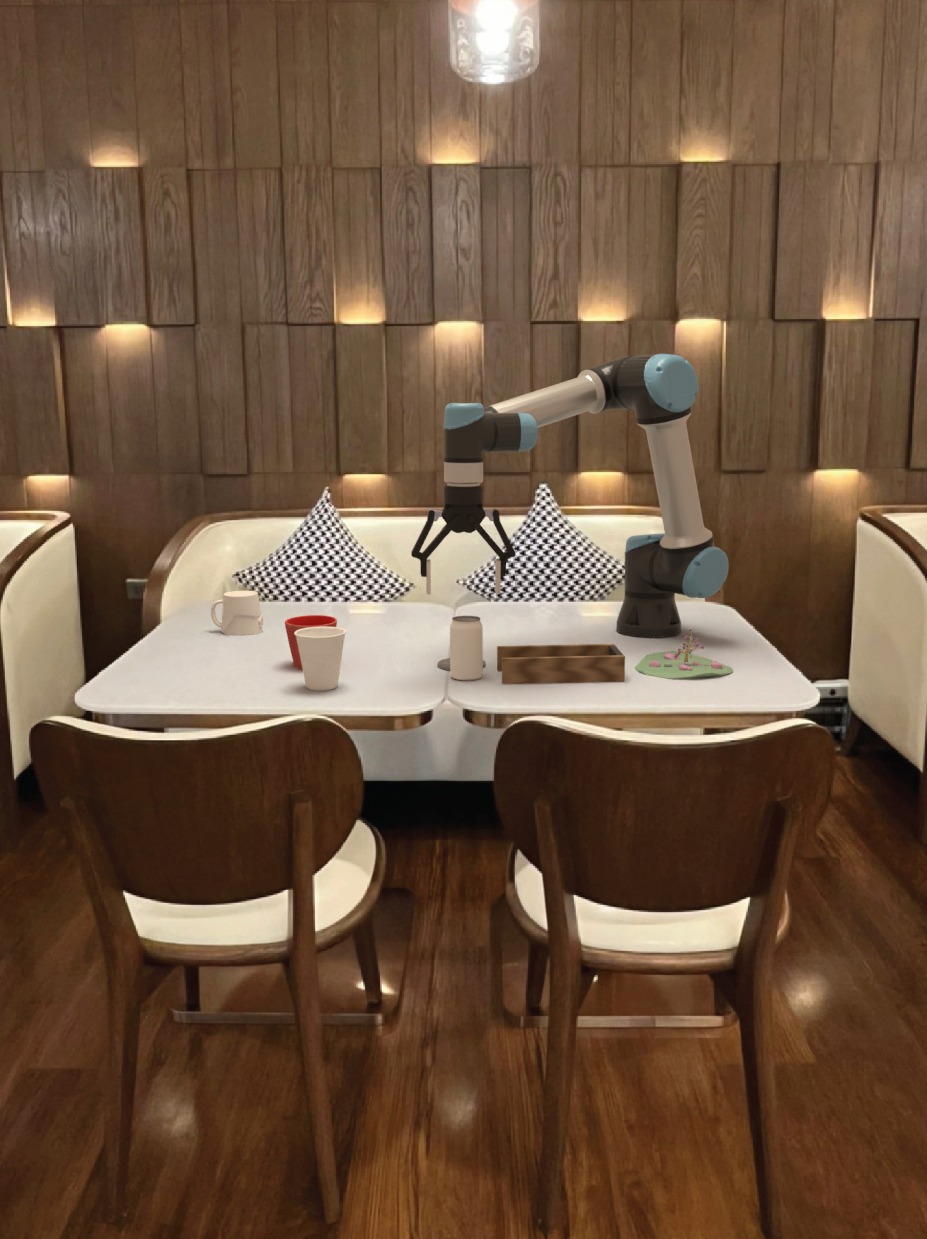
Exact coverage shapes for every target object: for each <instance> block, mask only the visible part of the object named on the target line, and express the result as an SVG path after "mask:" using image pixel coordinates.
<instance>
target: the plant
mask: <svg viewBox="0 0 927 1239" xmlns="http://www.w3.org/2000/svg"><path fill="white" fill-rule="evenodd" d="M688 631H689V632H690V636H689V635H688V634H685V635H684V638H682V641H683V642H681V641H679V644H682V648H680V647H679V648H678V649H677V650H668V651H661V652H654V653H648V654H647V655H645V656H644V658H642V660H640V662H639V663H637V665H635V667H634V669H635V671H637V673H640V674H642V675H645V676H649V677H655V678H660V679H666V680H667V679H668V680H677V679H678V680H679V679H680V680H681V679H692V678H706V677H717V676H720V677H721V676H727V675H731V674H733V673H734V669H733V668H732V667H731V666H729V665H726V664H723V663H721V662H717V661H715V660H712V659H710V658H706V657H703V656H699V655H697V654H696V655H695V654H693V653H692V652H695V650H696V649H698V650H699V649H702V650H703V649H705V646H704V645H700V642H699V641H698V639H699V637H693V635H692V633H693V632H692V631H693V629H692V628H690V629H689V630H688ZM688 638H690V640H689V643H688V642H687V641H688ZM685 639H686V641H685ZM691 644H695V645H691ZM684 650H685V651H684Z"/></svg>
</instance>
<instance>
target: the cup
mask: <svg viewBox="0 0 927 1239" xmlns="http://www.w3.org/2000/svg"><path fill="white" fill-rule="evenodd" d="M346 634H347V630H346V629H345V628H341V627H337V626H336V627H309V628H303V629H299V630H297V631H295V632H294V635H295V636H296V639H297V644H298V649H299V653H300V658H301V663H302V669H301V670H302V673H303V678H304V683H305V687H306V688H307V689H308V690H310V691H318V692H319V691H320V692H321V691H322V692H325V691H331V690H333V689H336V688H337V686H338V685H339V680H340V673H341V672H340V671H341V664H342V656H343V650H344V644H345V643H344V642H345V636H346Z"/></svg>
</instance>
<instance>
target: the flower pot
mask: <svg viewBox="0 0 927 1239" xmlns="http://www.w3.org/2000/svg"><path fill="white" fill-rule="evenodd" d="M337 624H338V620H337V618H336V617H334V616H331V615H323V614H319V615H318V614H315V615H314V614H313V615H312V614H311V615H300V616H299V615H298V616H294V617H290V618H287V619H285V621H284V627H285V632H286V636H287V641H288V645H289V646H288V647H289V649H290V654H291V658H292V661H293V663H292V664H293V666H294V667H295V668H296V669H300V670H303V669H302V663H301V658H300V653H299V649H298V644H297V639H296V636H295V635H294V632H295V631H297V630H299V629H303V628H309V627H337Z"/></svg>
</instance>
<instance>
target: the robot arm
mask: <svg viewBox="0 0 927 1239" xmlns="http://www.w3.org/2000/svg"><path fill="white" fill-rule="evenodd" d="M698 392H699V378H698V375H697V373H696V371H695V368H694V367H693V365H692V364H691V363H690V362H689V361H688V360H687V359H685V358H684V357H682V356H680V355H677V354H669V353H653V354H652V353H651V354H640V355H637V354H636V355H635V354H632V355H631V354H630V355H625V356H621V357H618V358H615V359H612V360H610V361H606V362H604V363H601V364H599V365H596V366H594V367H591V368H587V369H585V370H582V371H581V372H580V373H579V374H578V375H577V377H575V378H572V379H569V380H565V381H562V382H559V383H556V384H553V385H550V386H546V387H544V388H540V389H538V390H535V391H534V390H533V391H531V392H528V393H524V394H522V395H518V396H515V397H511V398H508V399H507V400H503V401H500V402H497V403H494V404H493V403H492V404H490V405H488V406H484V405H483V404H482V403H481V402H480V403H479V402H477V403H476V402H467V403H466V402H450V403H448V404H447V405H446V406H445V407H444V408H445V409H444V415H443V426H442V427H443V457H444V460H443V482H444V483H446V485H444V487H443V508H442V510H435V509H433V508H429V509H428V511H427V518H426V521H425V523H424V525H423V527H422V529H421V532H420V533H419V536H418V538H417V540H416V542H415V544H414V546H413V548H412V550H411V552H410V554H411V557H412V558H415V559H418V561H420V563H419V564H420V565H419V566H420V576H421V577H422V578H425V579H426V580H425V582H426V585H425V586H426V591H425V592H426V595H431V594H432V588H431V587H432V586H431V582H432V581H431V577H432V576H431V575H432V573H431V569H432V568H431V563H432V562H431V559H430V558H429V557H430V556H431V555H432V554H433V553H434V551H435V550H436V549H437V548H438V547H439V546H440V545H441V543H442V542H443V540H444V539H445V538H446V537H447V536H448V535H449V534H450V533H451V532H453V533H455V534H461V533H467V534H472V533H474V532H475V531H477V533H478V534H479V535H480V537H481V538H482V539H483V540H484V541H485V543H487V544H488V546H489V547H490V548H491V549H492V551H493V552H494V553H495V554H496V556H498V557H499V558H495V562H494V563H495V569H494V570H495V573H494V574H495V575H494V576H495V579H494V587H495V588H494V592H495V594H496V595H500V594H501V577H506V575H507V560H509V559H510V558H514V557H515V556H516V551H515V549H514V547H513V545H512V543H511V541H510V538H509V537H508V534H507V532H506V531H505V529H504V526H503V525H502V522H501V519H500V511H499V510H498V509H497V508H493V509H489V510H484V487H483V486H482V485H481V483H483V482H484V453H486V454H487V453H520V452H529V451H530V450H532V449H534V447H535V446H536V444H537V441H538V438H539V434H538V432H539V428H542V427H544V426H548V425H550V424H553V423H557V422H560V421H563V420H565V419H569V418H572V417H575V416H578V415H581V414H583V413H590V414H593V415H594V414H599V413H601V412H606V411H615V410H616V411H618V410H619V411H620V410H627V411H634V414H635V419H636V420H635V421H636V424H637V426H639V427H640V428H642V429H643V430H645V433H646V437H647V443H648V444H647V445H648V450H649V455H650V461H651V466H652V471H653V476H654V481H655V488H656V494H657V498H658V503H659V509H660V514H661V520H662V524H663V529H664V532H663V533H662V532H661V533H653V534H652V533H650V534H649V533H648V534H638V535H637V534H636V535H630V536H629V537H628V538H627V539H626V542H625V551H624V599H623V602H622V604H621V607H620V610H619V612H618V616H617V619H616V625H615V626H616V629H615V630H616V632H618V633H619V634H621V635H625V636H631V637H639V638H665V637H666V638H668V637H673V636H677V635H680V634H681V633H682V620H681V617H680V614H679V610H678V606H677V603H676V601H675V600H676V599H675V598H676V595H675V594H677V595H682V596H686V597H688V598H690V599H691V598H693V599H695V598H698V599H706V598H710V597H712V596H714V595H716V593H718V591H720V590H721V588H723V585H724V582H726V579H727V577H728V573H729V569H730V568H729V564H730V563H729V559H728V555H727V554H726V552H725V551H723V550H722V549H721V548H720V547H717V546H716V545H715V541H714V536H713V531H711V530H710V529H708V528H706V527H705V523H704V519H703V513H702V507H701V503H700V502H701V501H700V496H699V490H698V485H697V479H696V473H695V472H696V471H695V467H694V461H693V456H692V450H691V445H690V443H691V442H690V439H689V432H688V427H687V421H688V419H690V418H689V417H690V416H691V414H692V408H691V407H692V405H693V404H694V403H695V402H696V399H697V398H696V395H698V394H699V393H698ZM440 517H441V518H442V519H443V521H444V522H445V525H444V526H443V527H442V528H441V530H440V531H439V532H438V533H437V535H436V536H435V537H434V538H432V541H431V542H430V543H429V544H428V545H427V546H426V548H424V550H423V551H422V552H421V549H422V547H423V545H424V543H425V542H426V540H427V537H428V535H429V533H430V532H431V529H432V528H433V525H434V522H438V520H439V518H440ZM486 517H487V518H488V521H490V522H493V525H494V527H495V529H496V531H497V533H498V535H499V537H500V539H501V541H502V543H503V545H504V547H505V549H506V551H504V550H502V549H501V547H500V546H499V545H498V544H497V543H496V542H495V540H493V537H491V536H490V535H489V533H488V532H487V531H486V530H485V528H483V526H482V525H481V524H482V522H483V521H484V519H485V518H486ZM428 558H429V559H428Z"/></svg>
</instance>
